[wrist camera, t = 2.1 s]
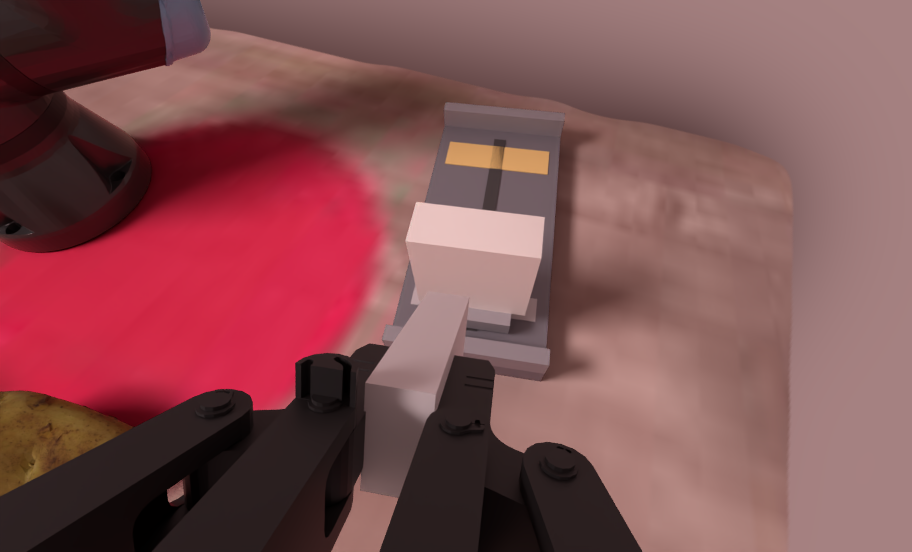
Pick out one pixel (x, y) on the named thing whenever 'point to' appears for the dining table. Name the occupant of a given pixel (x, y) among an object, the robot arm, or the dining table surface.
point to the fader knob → (476, 259)
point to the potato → (46, 435)
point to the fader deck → (503, 190)
